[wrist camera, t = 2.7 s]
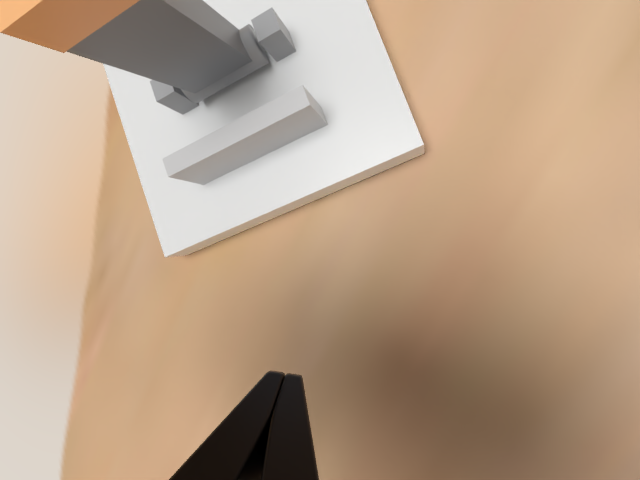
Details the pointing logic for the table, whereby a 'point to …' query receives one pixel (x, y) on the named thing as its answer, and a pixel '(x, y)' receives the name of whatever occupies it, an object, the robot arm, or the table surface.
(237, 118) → the switch plate
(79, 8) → the lever
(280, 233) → the table surface
